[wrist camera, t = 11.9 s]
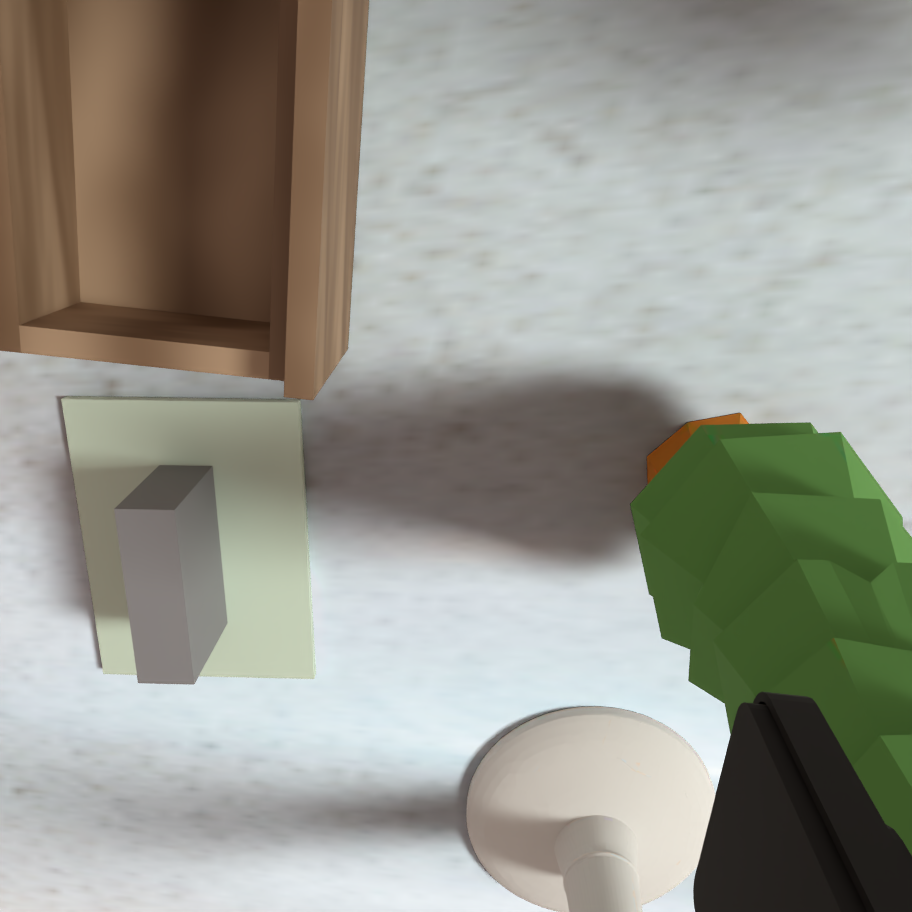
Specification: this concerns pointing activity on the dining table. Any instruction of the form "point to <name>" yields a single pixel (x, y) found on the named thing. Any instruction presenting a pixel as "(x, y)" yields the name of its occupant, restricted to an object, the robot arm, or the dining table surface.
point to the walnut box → (181, 182)
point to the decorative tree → (787, 584)
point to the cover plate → (244, 516)
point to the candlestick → (590, 810)
